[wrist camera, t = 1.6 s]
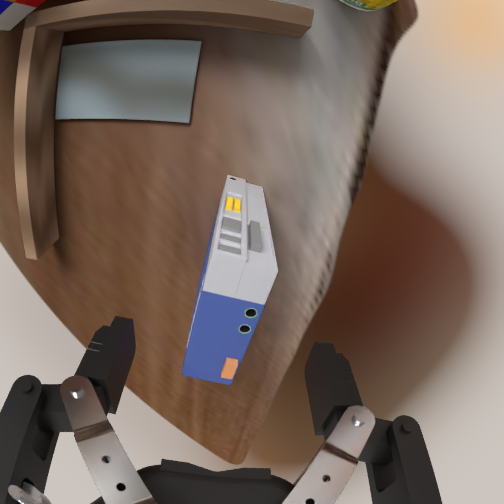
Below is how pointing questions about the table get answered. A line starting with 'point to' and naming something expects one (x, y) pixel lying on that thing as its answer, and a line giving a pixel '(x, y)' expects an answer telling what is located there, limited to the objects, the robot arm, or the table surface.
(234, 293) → the walkman
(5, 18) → the puzzle toy
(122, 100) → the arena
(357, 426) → the robot arm
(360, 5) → the supplement bottle
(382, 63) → the table surface
